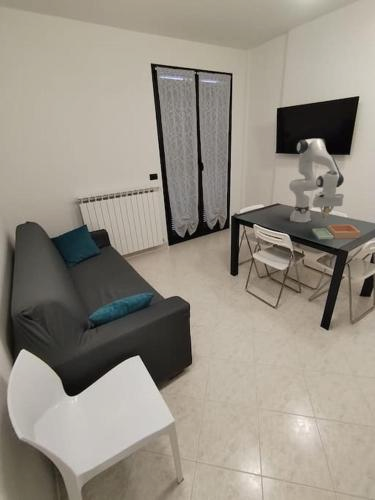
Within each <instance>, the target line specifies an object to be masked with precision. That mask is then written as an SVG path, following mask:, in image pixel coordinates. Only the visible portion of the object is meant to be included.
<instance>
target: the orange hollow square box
mask: <svg viewBox="0 0 375 500" xmlns="http://www.w3.org/2000/svg"><path fill="white" fill-rule="evenodd" d="M326 229H327V230H328V231H329V232H330V233H331V234H332V235H333V236H334V238H333V240H334V239H335V240H337V239H338V240H339V239H340V240H341V239H343V240H344V239H345V240H346V239H347V240H348V239H351V240H352V239H360V237H361V236H360V235H361V231H359V230H358V228H356V227H354V226H353V225H352V224H328V225H327V228H326Z"/></svg>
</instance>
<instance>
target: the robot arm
mask: <svg viewBox="0 0 375 500" xmlns="http://www.w3.org/2000/svg"><path fill="white" fill-rule="evenodd" d="M296 151H297V153H299V158H298V173H299V174H300V175H302V176H304V178H297V179H294V180H291V181H290V182H289V186H288V187H289V190H290V191H291V192H292V193H293V194H294V195H295V206H294V210H293V211H292V212H290V215H289V221H290V222H295V223H308V222H310V221H312V219H311V212H310V197H309V196H308V195H307V194H304V192H311V191H312V192H313V191H317V190H319V188H321V189H322V190H321V191H319V192H316V193H315V195H314V198H313V199H312V207H314V208H320V213H323V212H324V210H323V209H324V207H330V209H329V213H332V210H333V209H334V208H335V207H342V206H343V203H344V200H343V199H344V194H343V193H337V188H340V187H341V186H342V185H343V184H344V182H345V181H344V180H345V179H344V176H343V174H342V173H341V171H340V170H339V167H338V165H337V163H336V160H335V158H334V157H333V156H331V155H330V154H329V152H328V151H327V148H326V140H325V139H324V138H321V137H320V138H308V139H300V140H299V141H298V143H297V144H296ZM313 163H314V164H317V165H320V166H321V165H322V166H325V167H327V168H328V169H329V171H326V172H325V173H324V174H321V175H319V176H318V177H316V176H315V174H314V170H313Z"/></svg>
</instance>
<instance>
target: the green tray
mask: <svg viewBox="0 0 375 500" xmlns="http://www.w3.org/2000/svg"><path fill="white" fill-rule="evenodd" d="M312 233H313V234H314V236H315V237H316V238H317V240H318V241H320V240H334V236H333V235H332V234H331V233H330V232H329V231H328V230H327V228H312Z"/></svg>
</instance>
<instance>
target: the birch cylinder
mask: <svg viewBox="0 0 375 500" xmlns="http://www.w3.org/2000/svg"><path fill="white" fill-rule="evenodd" d="M330 208H331V207H323V208H322V210H324V212H322V218H323V219H327V218H329V216H330V215H329V214H330V212H329V209H330Z"/></svg>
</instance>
